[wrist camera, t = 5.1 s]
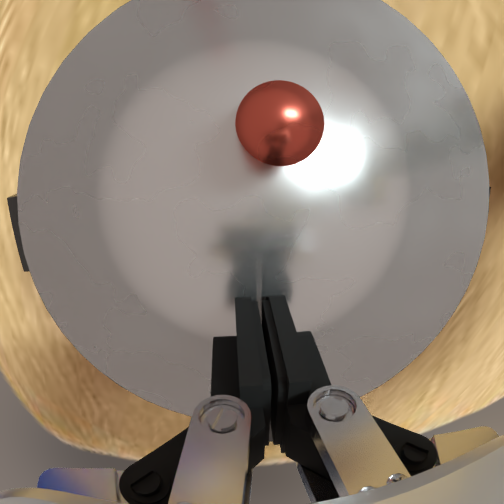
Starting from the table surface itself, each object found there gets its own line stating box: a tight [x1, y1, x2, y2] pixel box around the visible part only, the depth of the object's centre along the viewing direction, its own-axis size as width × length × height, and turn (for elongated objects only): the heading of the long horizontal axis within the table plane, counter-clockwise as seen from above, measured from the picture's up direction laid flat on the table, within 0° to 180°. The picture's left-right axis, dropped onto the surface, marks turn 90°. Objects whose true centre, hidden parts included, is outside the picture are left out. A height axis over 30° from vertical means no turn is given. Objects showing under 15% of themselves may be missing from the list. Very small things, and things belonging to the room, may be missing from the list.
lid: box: [17, 0, 489, 442], centre depth 9 cm, size 18×20×3 cm
